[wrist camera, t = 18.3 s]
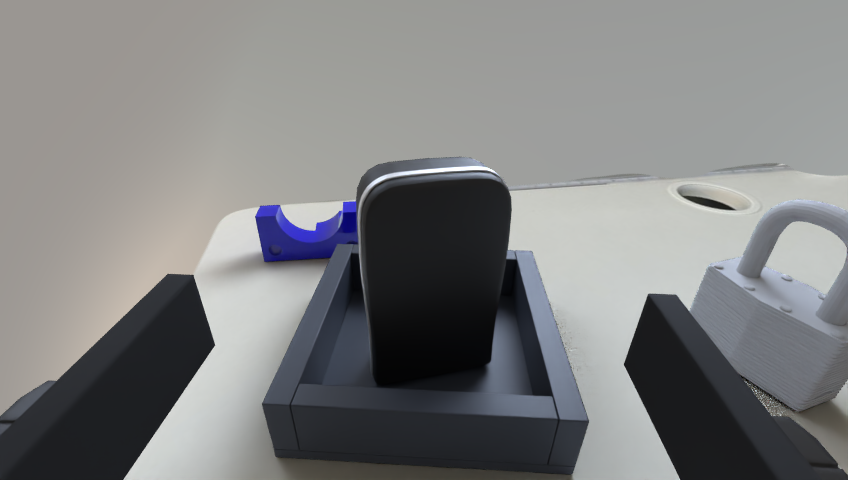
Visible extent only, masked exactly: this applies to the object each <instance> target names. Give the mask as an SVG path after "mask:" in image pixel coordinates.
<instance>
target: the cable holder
mask: <svg viewBox="0 0 848 480" xmlns="http://www.w3.org/2000/svg"><path fill="white" fill-rule="evenodd" d="M255 218H256V223H257V228H258V233H259V238H260V243H261V247H262V252H263V257H264V262H269V261H285V260H301V259H317V258H331V256H332V254H333V252H334V250H335V248H336V246H337V244H354V245H358V237H357V216H356V201H355V202H343V211H339V212H338V213H337V214H336V215H335V216H334V217H333V218H331V219H329V220H327V221H324V222H319V223H317V225H316V231H309V230H304V229H301V228H298V227H296V226H295V225H293V224H292V223H290V222H289V221H288V220H287V219H286V217H285V216H284V214H283V213H282V210H281V207H280V205H269V206H260V208H259V210H258V212H257V214H256V216H255Z"/></svg>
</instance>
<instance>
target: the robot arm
mask: <svg viewBox="0 0 848 480" xmlns="http://www.w3.org/2000/svg"><path fill="white" fill-rule="evenodd" d="M214 346H215V343H214V340H213V337H212V334H211V330H210V327H209V324H208V321H207V317H206V314H205V311H204V308H203V305H202V301H201V298H200V295H199V292H198V288H197V285H196V282H195V279H194V275H181V274H167V275H166V276H165V277H164V278H163V279H162V280H161V281H160V282H159V283H158V284H157V285H156V286H155V287H154V288H153V289H152V290H151V291H150V292H149V293H148V294H147V295H146V296H144V298H142V299H141V300H140V301H139V302H138V303H137V304H136V305H135V306H134V307H133V308H132V309H131V310H130V311H129V312H128V313H127V314H126V315H125V316H124V317H123V318H122V319H121V320H120V321H118V323H116V324H115V325H114V326H113V327H112V328H111V329H110V330H109V331H108V332H107V333H106V334H105V335H104V336H103V337H102V338H101V339H100V340H99V341H98V342H97V343H96V344H95V345H94V346H93V347H91V348H90V349H89V350H88V351H87V352H86V353H85V354H84V355H83V356H82V357H81V358H80V359H79V360H78V361H77V362H76V363H75V364H74V365H73V366H72V367H71V368H70V369H69V370H68V371H67V372H65V373H64V374H63V375H62V376H61V377H60V379H58V380H57V381H47V382H45V383H44V384H42V385H40V386H39V387H37V388H35V389H34V390H32V391H31V392H29V393H27V394H26V395H24V396H23V397H21V398H20V399H19V400H18V401H16V402H15V403H14V404H13V405H12V406H11V407H10V408H9V409H8V410H7V411H5V412H4V413H3V414H2V415H1V416H0V480H123V479H124V478H125V476H126V475H127V473H128V472H129V470H130V469H131V468H132V466H133V465H134V463H135V462H136V460H137V459H138V457H139V456H140V454H141V453H142V451H143V450H144V449H145V447H146V446H147V444H148V443H149V441H150V440H151V438H152V437H153V435H154V434H155V432H156V431H157V429H158V428H159V427H160V425H161V424H162V422H163V421H164V419H165V418H166V416H167V415H168V413H169V412H170V410H171V409H172V408H173V406H174V405H175V403H176V402H177V400H178V399H179V397H180V396H181V394H182V393H183V391H184V390H185V388H186V387H187V386H188V384H189V383H190V381H191V380H192V378H193V377H194V375H195V374H196V372H197V371H198V369H199V368H200V367H201V365H202V364H203V362H204V361H205V359H206V358H207V356H208V355H209V353H210V352H211V350H212V349H213V347H214ZM624 366H625V368H626V370H627V372H628V374H629V376H630V378H631V380H632V382H633V384H634V386H635V388H636V390H637V392H638V394H639V396H640V398H641V400H642V402H643V404H644V406H645V408H646V410H647V412H648V414H649V416H650V419H651V421H652V423H653V425H654V427H655V429H656V431H657V433H658V435H659V437H660V439H661V441H662V443H663V445H664V447H665V449H666V451H667V453H668V455H669V457H670V459H671V461H672V463H673V465H674V467H675V469H676V471H677V474H678V476H679V478H680V480H848V475H847V474H846V473H845V472H844V470H843V469H839V467H838V463H837V462H836V461H835V460H834V459H833V457H832V456H831V455H830V454H829V453H828V452H827V450H826V449H825V448H824V447H823V446H822V445H821V443H820V442H819V441H818V440H817V439H816V438H815V437H814V436H812V435H811V434H810V433H809V432H807V431H806V430H805V429H804V428H802V427H801V426H800V425H798V424H797V423H796V422H795V421H793V420H792V419H791V418H789V417H781V416H771V415H770V413H769V412H768V411H767V410H766V408H765V407H764V406H763V404H762V403H761V402H760V401H759V399H758V398H757V397H756V396H755V394H754V393H753V392H752V390H751V389H750V388H749V387H748V385H747V384H746V383H745V382H744V380H743V379H742V378H741V377H740V375H739V374H738V373H737V371H736V370H735V369H734V368H733V366H732V365H731V364H730V363H729V361H728V360H727V359H726V358H725V356H724V355H723V354H722V352H721V351H720V350H719V349H718V347H717V346H716V345H715V344H714V342H713V341H712V340H711V338H710V337H709V336H708V335H707V333H706V332H705V331H704V330H703V328H702V327H701V326H700V325H699V323H698V322H697V321H696V319H695V318H694V317H693V316H692V314H691V313H690V312H689V311H688V309H687V308H686V307H685V306H684V304H683V303H682V302H681V300H680V299H679V298H678V297H677V295H668V294H648V296H647V299H646V302H645V305H644V308H643V311H642V314H641V317H640V319H639V322H638V325H637V328H636V331H635V334H634V337H633V340H632V342H631V345H630V348H629V351H628V354H627V357H626V360H625V363H624Z"/></svg>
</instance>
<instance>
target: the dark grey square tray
mask: <svg viewBox="0 0 848 480" xmlns="http://www.w3.org/2000/svg"><path fill="white" fill-rule="evenodd" d="M262 406H263V410H264V414H265V418H266V421H267V425H268V429H269V433H270V437H271V440H272V444H273V448H274V452H275V456H276V457H285V458H302V459H319V460H335V461H352V462H369V463H386V464H403V465H420V466H437V467H454V468H471V469H488V470H505V471H522V472H539V473H556V474H573V471H574V468H575V465H576V462H577V458H578V455H579V452H580V449H581V446H582V442H583V439H584V436H585V433H586V430H587V426H588V423H589V420H588V417H587V414H586V411H585V408H584V405H583V402H582V399H581V396H580V393H579V390H578V387H577V384H576V381H575V378H574V375H573V372H572V369H571V366H570V363H569V360H568V357H567V354H566V351H565V348H564V345H563V342H562V339H561V336H560V333H559V330H558V327H557V324H556V321H555V318H554V315H553V313H552V310H551V307H550V304H549V301H548V298H547V295H546V292H545V289H544V286H543V283H542V280H541V277H540V274H539V271H538V268H537V265H536V262H535V259H534V256H533V253H532V251H518V250H515V251H513V250H508V251H507V258H506V265H505V271H504V277H503V283H502V289H501V294H500V300H499V305H498V310H497V315H496V321H495V329H494V337H493V347H492V359H491V362H490V363H488V364H485V365H480V366H476V367H472V368H468V369H463V370H458V371H454V372H449V373H444V374H439V375H434V376H429V377H423V378H418V379H412V380H406V381H400V382H393V383H387V384H377V383H376V382H375V380H374V377H372V374H371V370H370V344H369V331H368V322H367V316H366V310H365V303H364V295H363V287H362V280H361V270H360V261H359V250H358V245H354V244H337V246H336V248H335V250H334V252H333V254H332V256H331V259H330V261H329V263H328V265H327V267H326V269H325V271H324V273H323V276H322V278H321V280H320V282H319V284H318V286H317V288H316V290H315V293H314V295H313V297H312V299H311V301H310V303H309V305H308V307H307V309H306V312H305V314H304V316H303V318H302V320H301V322H300V324H299V326H298V329H297V331H296V333H295V335H294V337H293V339H292V341H291V343H290V345H289V348H288V350H287V352H286V354H285V356H284V358H283V360H282V362H281V365H280V367H279V369H278V371H277V373H276V375H275V377H274V379H273V382H272V384H271V386H270V388H269V390H268V392H267V394H266V396H265V398H264V401H263V403H262Z"/></svg>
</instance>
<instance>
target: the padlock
mask: <svg viewBox="0 0 848 480" xmlns="http://www.w3.org/2000/svg"><path fill="white" fill-rule="evenodd" d="M795 221H803V222H809V223H812V224H815V225H818V226H821V227H823V228H825V229H827V230H830V231H831V232H833V233H834V234H836V235H837V236H838V237H839V238H840V239H841V240H842V241H843V242H844V243H845V245H846V247H847V257H846V260H845V264H844V267H843V269H842V270H841V272H840V274H839V275H838V277H837V279H836V280H835V282H834V284H833V285H832V287H831V289H830V290H829V292H828V294H827V295H824V294H823V293H821V292H819V291H818V290H816V289H814V288H813V287H811V286H809V285H807V284H804V283H802V282H800V281H797V280H795V279H793V278H792V277H790V276H788V275H784V274H782V273H779V272H777V271H775V270H773V269H770V268H768V267H766V266H765V264H766V262H767V260H768V258H769V256H770V254H771V252H772V250H773V248H774V246H775V244H776V242H777V239H778V237H779V235H780V234H781V233H782V232H783V230H784V229H785V228H786V227H787V226H788V225H789V224H790V223H792V222H795ZM689 312H690V313H691V314H692V316H693V317H694V318H695V319H696V321H697V322H698V323H699V325H700V326H701V327H702V328H703V330H704V331H705V332H706V333H707V335H708V336H709V337H710V338H711V340H712V341H713V342H714V344H715V345H716V346H717V347H718V349H719V350H720V351H721V352H722V354H723V355H724V356H725V358H726V359H727V360H728V361H729V363H730V364H731V365H732V366H733V368H734V369H735V370H736V371H737V373H738V374H740V375H742V376H743V377H745V378H746V379H748V380H749V381H751V382H752V383H754V384H755V385H757V386H758V387H760V388H762V389H763V390H765V391H766V392H768V393H769V394H771V395H772V396H774V397H775V398H777V399H778V400H780V401H781V402H783V403H785V404H786V405H787V406H788V407H790V408H792V409H794V410H796V411H802V410H805V409H807V408H810V407H812V406H815V405H818V404H820V403H823V402H825V401H828V400H830V399H833V398H835V396H837V393H839V390H841V388H842V387H843V385H844V384H845V382H847V379H848V211H846V210H844V209H842V208H839V207H837V206H834V205H831V204H827V203H824V202H819V201H810V200H802V199H797V200H792V201H787V202H782V203H780V204H778V205H776V206H774V207H773V208H771V209H770V210H769V211H768V212H766V213H765V214H764V215H763V217H762V218H761V220H760V221H759V223H758V224H757V226H756V228H755V230H754V232H753V234H752V236H751V238H750V241H749V243H748V245H747V247H746V250H745V252H744V254H743V256H742V257H738V258H734V259H729V260H725V261H720V262H716V263H711V264H710V265H708V267H707V269H706V272H705V275H704V277H703V280H702V281H701V284H700V287H699V289H698V292H697V294H696V297H695V298H694V301H693V303H692V306H691V308H690V311H689Z"/></svg>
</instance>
